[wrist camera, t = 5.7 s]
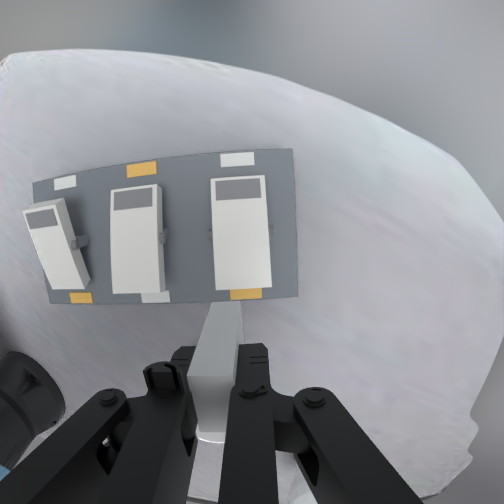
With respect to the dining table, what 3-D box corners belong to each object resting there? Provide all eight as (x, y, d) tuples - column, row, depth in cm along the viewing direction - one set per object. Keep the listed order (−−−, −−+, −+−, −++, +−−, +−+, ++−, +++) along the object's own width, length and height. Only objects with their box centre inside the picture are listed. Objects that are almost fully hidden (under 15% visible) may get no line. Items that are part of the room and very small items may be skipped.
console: (73, 287, 35) (41, 309, 27) (59, 182, 32) (21, 183, 25) (290, 278, 35) (301, 303, 27) (284, 155, 32) (295, 145, 24)
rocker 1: (56, 280, 28) (49, 290, 26) (28, 204, 23) (18, 212, 22) (93, 279, 28) (87, 290, 26) (67, 197, 23) (57, 204, 22)
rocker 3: (213, 289, 25) (210, 290, 24) (208, 184, 26) (205, 178, 24) (275, 285, 25) (277, 286, 24) (268, 180, 26) (269, 174, 24)
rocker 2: (116, 292, 25) (108, 293, 24) (114, 194, 26) (106, 190, 24) (169, 291, 25) (164, 292, 24) (166, 188, 26) (160, 183, 24)
